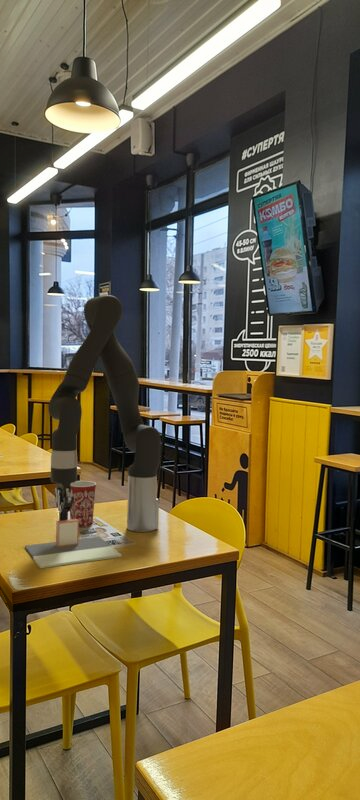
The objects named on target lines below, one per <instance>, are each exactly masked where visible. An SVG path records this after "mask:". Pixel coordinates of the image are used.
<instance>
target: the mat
mask: <svg viewBox="0 0 360 800" xmlns="http://www.w3.org/2000/svg"><path fill="white" fill-rule="evenodd" d="M24 549H25V550H26V551H27V552H28V554H29V555H30V556H31V558H32V559H33V561H34V562H35V563H36V565H37V566H38V568H40V569H44V568H45V569H46V568H53V567H60V566H67V565H73V564H80V563H81V564H82V563H87V562H94V561H99V560H100V561H101V560H102V561H103V560H107V559H108V560H109V559H116V558H122V553H120V552H119V551H118V550H116V549H115V548H114V547H113V546H112V545H110V544H109V543H108V542H107V541H105V540H104V538H102V537H100V536H92V537H84V538H78V545H71V546H63V547H57V546H56V541H53V542H52V541H51V542H44V543H36V544H28V545H24Z"/></svg>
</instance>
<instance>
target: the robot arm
mask: <svg viewBox="0 0 360 800" xmlns="http://www.w3.org/2000/svg"><path fill="white" fill-rule="evenodd" d="M83 315H84V320H85V322H86V324H87V327H88V329H89V333H87V336H86V338H85V339H84V341H83V342H82V343H81V345H80V347H78V349H77V350H76V351H75V352H74V354H73V356H72V358H71V360H70V362H69V365H68V367H67V370H66V372H65V375H64V377H63V379H62V381H61V382H60V384H59V385H58V386H57V388H56V389H55V391H54V392H53V394H52V396H51V398H50V400H49V403H48V412H49V415H50V417H51V418H52V419H54V420H58V425H57V429H54V430H53V432H52V436H51V455H50V481H51V483H54V484H56V487H55V488H54V490H53V493H54V498H55V505H56V508H57V511H58V521H61V520H69V513H70V511H71V508H72V504H73V501H74V496H71V495H72V488H71V483H72V482H73V483H74V482H76V481H78V452H77V447H78V444H77V443H78V440H77V439H78V437H77V436H78V432H79V429H80V428H79V427H80V424H81V420H82V413H83V410H82V406H81V405H82V404H81V402H80V401H79V400H78V399H77V396H78V395H79V394H80V393H83V392H85V390H86V389H87V387H88V385H89V382H90V379H91V376H92V374H93V372H94V369H95V367H96V364H97V362H98V360H99V358H100V361H101V364H102V368H103V369H104V370H103V371H104V374H105V378H106V381H107V384H108V386H109V390H110V392H111V396H112V398H113V401H114V405H115V408H116V410H117V414H118V417H119V421H120V426H121V430H122V431H121V432H122V436H123V441H124V444H125V446H126V448H128V450H129V451H130V452H132V453H134V461H133V463H132V464H131V465H129V466H128V469H127V510H126V511H127V513H126V514H127V515H126V517H127V519H126V523H127V524H126V528H127V530H129V531H131V532H139V533H148V532H151V531H154V530H159V514H160V513H159V512H160V509H159V507H160V506H159V505H160V500H159V498H157V494H158V493H157V490H158V489H157V487H158V486H157V485H158V484H157V483H158V482H157V481H158V480H157V479H158V469H159V467H160V463H161V453H162V451H161V450H162V439H161V434H160V432H159V430H158V429H157V428H156V427H153V426H150V425H147V424H145V423H144V421H143V419H142V415H141V413H140V408H139V399H140V397H139V396H140V382H139V378H138V377H139V376H138V375H137V371H136V368H135V365H134V363H133V361H132V359H131V357H130V356H129V355H128V353H127V352H126V350H125V349H124V348H123V347H122V345H121V344H120V342H119V341H118V338H117V336H116V333H115V329H116V327H118V326H117V325H118V323H119V322H120V321H121V317H122V316H123V306H122V303H121V301H120V299H118V297H116V296H114V295H111V294H109V295H108V294H107V295H101V296H96V297H91V298H89V299H88V300H87V301H86V302H85V304H84V308H83Z"/></svg>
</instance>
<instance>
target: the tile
mask: <svg viewBox="0 0 360 800" xmlns="http://www.w3.org/2000/svg"><path fill="white" fill-rule="evenodd" d="M55 524H56V525H55V530H56V531H55V542H56V546H57V547H63V546H71V545H78V539H79V535H80V534H79V528H80V527H79V520H78V519H70V518H69V519H68V520H61V521H59V520H56V521H55Z"/></svg>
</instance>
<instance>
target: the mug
mask: <svg viewBox="0 0 360 800" xmlns="http://www.w3.org/2000/svg"><path fill="white" fill-rule="evenodd" d="M96 486H97V483H96V482H95V481H89V480H77V481H76V482H74V483H73V482H72V483H71V488H72V495H71V496H74V501H73V504H72V508H71V511H69V520H70V519H78V520H79V528H84V527H86V526H87V527H90V526H92V525H93V522H94V510H95V497H96Z"/></svg>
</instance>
